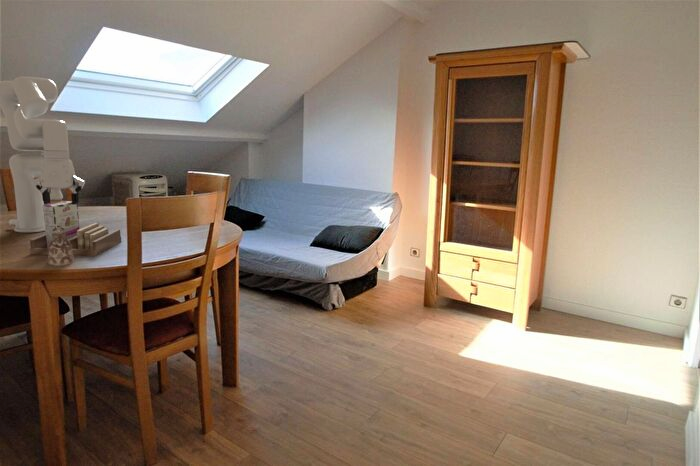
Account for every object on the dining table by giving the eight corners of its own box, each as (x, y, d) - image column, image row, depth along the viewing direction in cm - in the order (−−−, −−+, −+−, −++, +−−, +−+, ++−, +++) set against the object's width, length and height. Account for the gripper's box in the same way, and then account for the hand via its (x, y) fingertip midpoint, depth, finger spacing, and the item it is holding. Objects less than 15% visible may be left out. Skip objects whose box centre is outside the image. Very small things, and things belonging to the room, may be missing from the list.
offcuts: (78, 252, 166) (76, 230, 164) (96, 243, 180) (94, 222, 178) (94, 252, 167) (92, 230, 165) (110, 243, 180) (109, 223, 179)
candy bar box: (70, 243, 178) (66, 200, 175) (81, 244, 177) (78, 201, 174) (45, 249, 167) (41, 204, 164) (57, 251, 166) (54, 205, 163)
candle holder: (62, 219, 221) (59, 176, 217) (36, 217, 221) (32, 175, 217) (77, 214, 233) (75, 174, 229) (53, 213, 233) (50, 172, 229)
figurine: (46, 266, 149) (43, 229, 146) (50, 260, 155) (47, 225, 153) (72, 264, 152) (69, 228, 149) (75, 259, 158) (72, 224, 156)
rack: (30, 254, 161) (28, 240, 160) (63, 239, 183) (62, 227, 182) (95, 256, 163) (95, 242, 162) (121, 241, 185) (120, 229, 184)
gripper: (24, 155, 161) (29, 204, 164) (77, 157, 162) (81, 205, 166) (37, 154, 168) (41, 202, 171) (87, 156, 170) (91, 203, 173)
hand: (61, 203), depth 169 cm, fingers open, 9 cm apart
